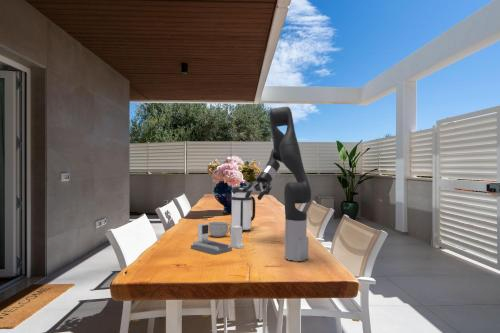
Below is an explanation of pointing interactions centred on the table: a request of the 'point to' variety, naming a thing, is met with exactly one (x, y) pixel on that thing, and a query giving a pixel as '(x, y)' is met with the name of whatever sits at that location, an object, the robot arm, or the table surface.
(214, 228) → the teacup
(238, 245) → the white stepped block
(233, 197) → the coffee press
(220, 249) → the rail
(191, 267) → the table surface
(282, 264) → the table surface
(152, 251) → the table surface
